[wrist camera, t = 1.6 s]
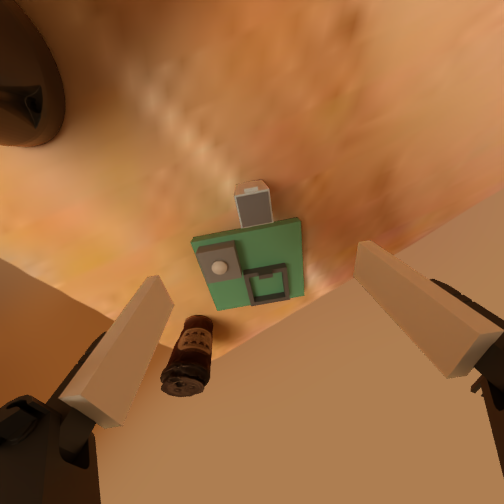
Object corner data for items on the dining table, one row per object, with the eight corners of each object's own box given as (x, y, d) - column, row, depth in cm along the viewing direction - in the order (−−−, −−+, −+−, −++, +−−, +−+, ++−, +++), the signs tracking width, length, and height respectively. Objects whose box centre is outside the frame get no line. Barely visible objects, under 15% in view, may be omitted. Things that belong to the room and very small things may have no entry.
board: (193, 237, 31) (185, 251, 26) (297, 217, 30) (307, 228, 26) (218, 303, 38) (215, 323, 34) (301, 289, 38) (309, 306, 33)
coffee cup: (184, 306, 38) (160, 371, 27) (221, 314, 40) (214, 378, 29) (177, 332, 42) (153, 398, 31) (211, 338, 44) (201, 403, 33)
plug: (234, 181, 27) (233, 192, 20) (261, 176, 27) (269, 185, 19) (241, 210, 29) (241, 229, 22) (265, 205, 29) (273, 223, 22)
